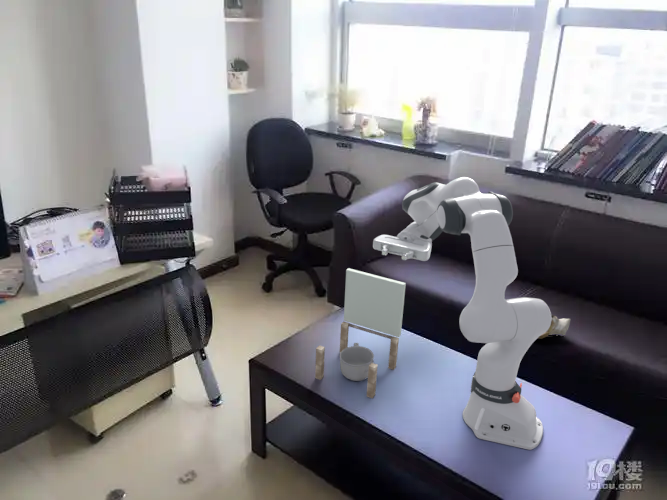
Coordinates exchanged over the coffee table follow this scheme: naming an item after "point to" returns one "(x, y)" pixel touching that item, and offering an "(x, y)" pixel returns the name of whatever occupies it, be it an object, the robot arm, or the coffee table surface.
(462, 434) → the coffee table surface
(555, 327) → the ceramic sculpture
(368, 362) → the teacup
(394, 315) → the lid
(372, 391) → the stand
